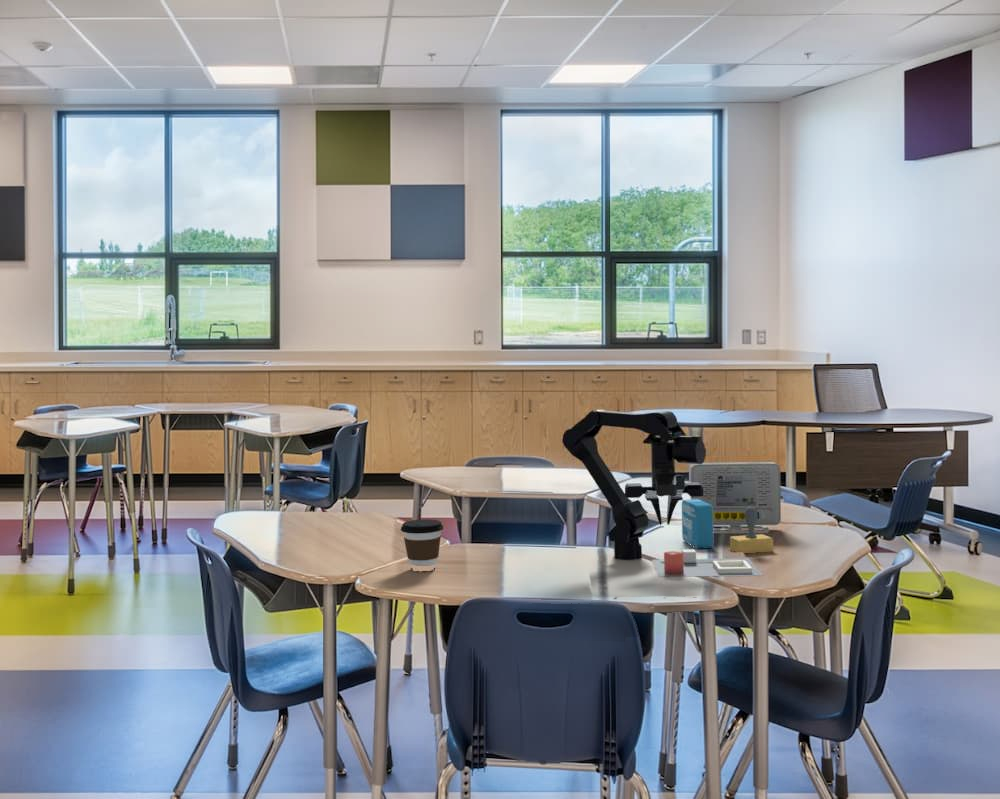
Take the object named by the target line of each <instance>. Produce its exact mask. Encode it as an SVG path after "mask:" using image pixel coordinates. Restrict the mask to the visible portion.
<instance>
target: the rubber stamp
mask: <svg viewBox="0 0 1000 799" xmlns="http://www.w3.org/2000/svg"><path fill="white" fill-rule="evenodd" d="M744 517H745V520H746V523H747V525H748V528H747V529H748V531H749V533H746V535H733V536H732V535H731V536H729V550H730V549H731V550H733V551H735V552H734V553H749V554H757V553H756V552H761V553H771V552H774V538H773V537H771V536H768V535H765V534H764V533H758V534H756V533H754V531H755V528H754V526H755V523H756V521H757V517H758V513H757V510H756V509H755V508H754V507H748V508H746V510H745V512H744ZM731 550H730V551H731ZM733 551H732V552H733Z"/></svg>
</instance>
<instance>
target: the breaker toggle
mask: <svg viewBox="0 0 1000 799" xmlns="http://www.w3.org/2000/svg"><path fill="white" fill-rule="evenodd" d="M681 552H682V553H683V562H684V563H696V559H697V552H696V550H695V548H692V549H682V550H681Z"/></svg>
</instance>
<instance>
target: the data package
mask: <svg viewBox="0 0 1000 799" xmlns="http://www.w3.org/2000/svg"><path fill="white" fill-rule="evenodd" d="M713 531H714V528H713V508H712V505H711V504H708V503H706V502H704V501H701V500H699V499H691V498H690V499H683V500H681V532H682V533H681V536H682V540H684V541H686V542H687V543H689V544H691V545H692V546H691V545H690V546H691V547H693V546H694V547H696V548H703V549H712V548H713V547H714V544H715V542H714V533H713ZM684 541H683V542H684ZM687 543H686V544H687ZM689 544H688V545H689ZM694 547H693V548H694ZM696 548H695V549H696Z"/></svg>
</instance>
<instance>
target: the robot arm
mask: <svg viewBox="0 0 1000 799" xmlns="http://www.w3.org/2000/svg"><path fill="white" fill-rule="evenodd" d="M604 426H605V427H611V428H612V427H613V428H614V427H615V428H626V429H634V430H635V429H636V430H639V431H641V432H642V433H645V434H648V435H647V436H646V438H644V439H643V441H642V444H644V445H645V444H647V445H650V450H651V451H650V452H651V453H650V455H651V456H650V457H651V467H650V468H651V486H643V485H642V483H640V482H639V483H626V485H625V486H624V490H623V488H622V487H621V485H620V484H619V483H618V481H617V479H616V477H615V476H614V475H613V474H612V471H611V470H610V469H609V467H608V466H607V464H606V463H605V461H604V460H603V458H602V456H600V454H599V451H598V449H599V448H598V442H597V440H596V436H597V435H599V433H600V432H601V430H602V428H603V427H604ZM561 440H562V445H563V446H564V448H565V449H566V450H567V451H568V452H569V453H570V455H571V456H573V457H574V458H576V459H577V460H579V461H580V462H581V463H582V464H583V465H584V467H585V468H586V470H587V472H588V473H589V475H590V476H591V478H592V479H593V481H594V483H595V484H596V486H597V487H598V489H599V490H600V492H601V493H602V495H603V497H604V498H605V500H606V502H608V504H609V506H610V507H611V512H612V513H611V514H612V519H613V522H614V524H615V525H614V526H613V527H612V529H610V531H608V533H607V535H608V538H609V541H610V542H613V553H614V554H613V556H614V560H622V561H623V560H624V561H631V560H633V561H634V560H639V559H642V558H643V556H642V552H643V551H642V549H643V548H642V547H643V546H642V544H641V543H640V539H639V538H642V537H643V534H644V532H645V531H646V530H647V528H648V526H649V522H650V519H649V517H648V515H647V514H648V511H647V510H646V509H645V508H644V507H643V504H642V503H641V501H640V500H639V498H641V497H642V496H643V495H644V498H645V500H646V501H648V502H650V503H651V505H652V507H653V510H654V512H655V515H656V519H657V521H658V524H659V525H660V526H661V525H662V514H661V508H660V507H661V506H660V499H659V497H664V496H667V508H666V510H667V511H666V524H667V525H668V526H669V525H670V523H671V520H672V517H673V513H674V511H675V508H676V506H677V504H678V502H680V501H683V500H684V497H682V496H683V494H688V496H689V497H690V498H691V497H702V496H703V487H702V486H701V485H700V484H699V483H698V482H686V480H685V475H684V474H682V475H681V474H677V475H676V467H675V466H676V464H675V463H676V462H677V463H679V464H690V465H692V464H702V463H705V460H706V456H707V448H706V447H705V443H704V442H703V439H702V435H694V436H691V435H690V436H689V435H687V434H686V433H685V431H684V430H683V428H682V427H681V425H680V424H679V423H678V419H677V416H676V414H674V412H672V411H671V410H663V411H662V410H661V411H655V412H646V413H639V412H637V413H636V412H629V411H628V412H627V411H614V410H605V409H595V410H591V411H589V413H587V415H585V416H584V417H583V418H582V419H581V420H579V421H578V422H577V423H575V424H574V425H573V426H572V427H571V428H568V429H566V430H565V432H563V435H562V439H561ZM632 498H633V499H634V498H635V499H637V498H638V499H637V500H631V499H632Z"/></svg>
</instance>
